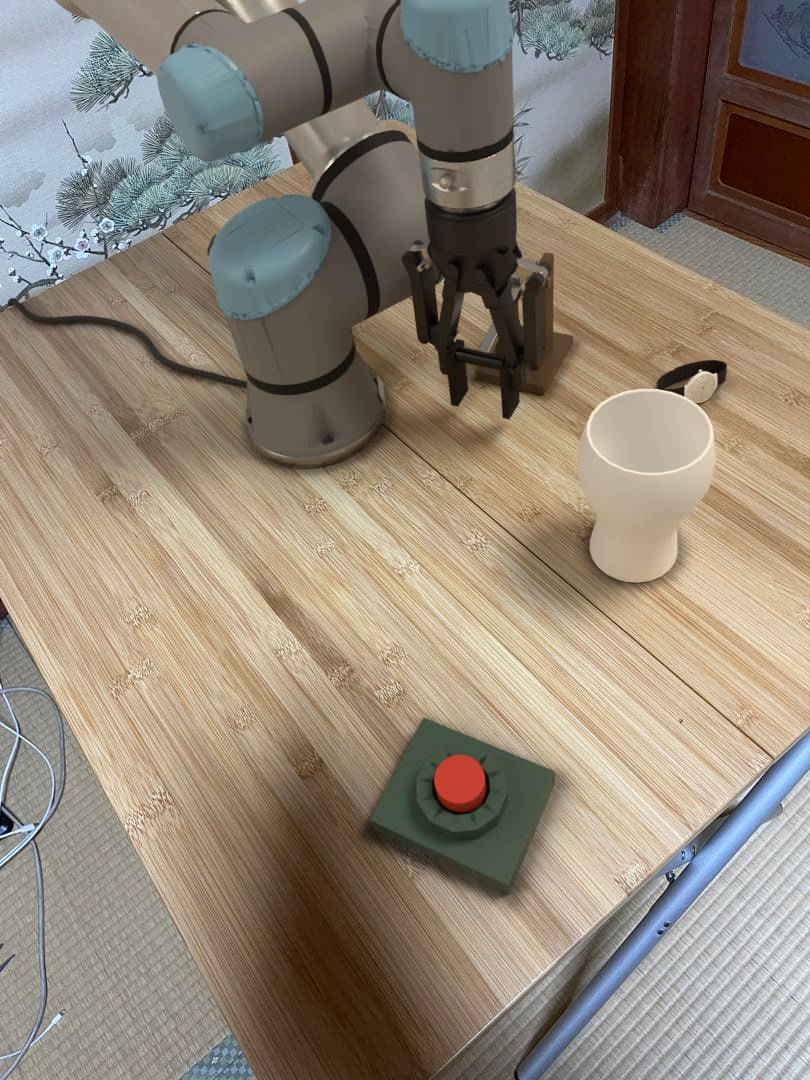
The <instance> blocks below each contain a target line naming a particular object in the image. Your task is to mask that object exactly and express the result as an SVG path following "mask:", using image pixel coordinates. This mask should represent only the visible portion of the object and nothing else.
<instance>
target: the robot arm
mask: <svg viewBox="0 0 810 1080" xmlns="http://www.w3.org/2000/svg"><path fill="white" fill-rule="evenodd" d="M54 1H55V3H57V4H58V5H59V6H60V7H61V8H62V9H64V10H65V11H67V12H68V13H70V14H72V15H74V16H76V17H79V18H83V19H87V20H92V21H93V22H95V23H96V24H97V25H98V26H99V27H100V28H102V30H103V31H105V33H107V34H108V35H109V36H110V37H111V38H112V39H114V41H116V42H117V43H118V44H119V45H121V47H123V48H124V49H125V50H126V51H127V52H128V53H129V54H130V55H132V56H133V57H134V58H135V59H136V60H137V61H138V62H140V64H142V65H143V66H144V67H145V68H146V69H147V70H149V72H150V73H152V74H153V75H154V76H155V77H156V82H157V87H158V92H159V96H160V99H161V103H162V105H163V107H164V110H165V112H166V114H167V117H168V120H169V121H170V123H171V125H172V128H173V129H174V131H175V132H176V134H177V136H178V137H180V139H181V140H182V142H183V146H185V148H186V150H188V152H189V153H190V154H191V155H193V156H194V158H196V159H197V160H200V161H203V162H215V161H218V160H221V159H224V158H226V157H230V156H231V155H235V154H238V153H239V154H241V153H247V152H249V151H251V150H253V149H254V148H256V147H257V146H258V145H260V144H263V143H264V142H267V141H269V140H270V139H273V138H275V137H277V136H280V135H281V134H282V135H283V137H284V138H285V139H286V141H287V143H288V145H289V146H290V147H291V149H292V150H293V152H294V153H295V155H296V156H297V158H298V159H299V161H300V163H301V164H302V166H303V167H304V169H305V170H306V172H307V173H308V175H309V176H310V177H311V179H312V184H311V190H310V194H309V196H307V195H303V194H298V193H297V194H296V193H289V194H287V193H286V194H283V195H282V196H281V197H280V198H276V197H275V196H270V197H266V198H263V199H260V200H258V201H255V202H253V203H252V204H249V205H248V206H246V207H244V208H242V209H241V210H240V211H238V212H236V213H235V214H234V215H233V216H231V217H230V218H229V219H228V220H227V221H226V222H225V223H224V224H223V225H222V227H221V228H220V229H219V230H218V232H217V233H216V234H217V235H216V234H215V235H216V237H215V239H214V244H213V245H212V247H211V249H210V253H209V256H208V268H209V271H210V275H211V279H212V283H213V287H214V294H215V298H216V302H217V305H218V307H219V308H220V309H221V311H222V313H223V315H224V319H225V321H226V324H227V327H228V328H229V332H230V335H231V338H232V340H233V342H234V343H233V344H234V345H235V348H236V351H237V354H238V357H239V358H240V362H241V364H242V365H241V366H242V367H243V370H244V373H245V376H246V380H242V379H237V378H234V377H229V376H227V375H222V374H219V373H215V372H211V371H207V370H202V369H198V368H194V367H190V366H186V365H183V364H180V363H178V362H175V361H173V360H171V359H169V358H167V357H165V356H164V355H163V354H162V353H161V352H159V350H158V349H157V347H156V346H155V344H154V343H153V341H152V340H151V338H149V336H148V335H147V334H146V333H145V332H143V331H142V330H141V329H139V328H137V327H135V326H133V325H131V324H129V323H126V322H123V321H120V320H116V319H112V318H106V317H103V316H102V317H100V316H94V315H67V316H41V315H37V314H34V313H33V312H31V311H30V310H28V309H27V308H26V307H25V306H23V304H22V303H21V302H20V301H19V300H18V299H16V298H14V297H11V298H9V299H8V300H7V306H8V307H13V306H14V307H15V308H16V309H17V310H18V311H19V312H20V313H21V314H22V315H23V316H24V317H26V318H27V319H29V320H30V321H33V322H37V323H41V324H66V323H93V324H101V325H107V326H110V327H111V326H112V327H114V328H115V327H116V328H119V329H122V330H123V331H127V332H129V333H130V334H133V335H134V336H136V337H138V338H139V339H140V340H142V342H143V343H144V344H145V346H146V347H147V349H148V350H149V352H150V353H151V355H152V356H153V357H154V358H155V359H156V360H157V361H158V362H159V363H160V364H162V365H164V366H166V367H167V368H170V369H172V370H173V371H176V372H180V373H183V374H186V375H191V376H195V377H200V378H202V379H203V378H204V379H208V380H211V381H214V382H218V383H222V384H226V385H229V386H234V387H236V388H240V389H245V390H246V397H245V398H246V400H245V405H246V407H245V423H246V427H247V431H248V434H249V437H250V439H251V441H252V444H253V445H254V447H255V449H256V450H257V451H258V452H259V454H261V456H263V457H265V458H266V459H268V460H269V461H271V462H273V463H275V464H278V465H282V466H285V467H291V468H301V469H309V468H318V467H319V468H320V467H325V466H329V465H331V464H335V463H338V462H341V461H343V460H346V459H348V458H349V457H352V456H353V455H355V454H357V453H358V452H360V451H361V450H363V449H364V448H365V447H366V446H367V445H369V444H370V443H371V442H372V441H373V440H374V439H375V437H377V435H378V433H379V432H380V431H381V429H382V427H383V424H384V422H385V418H386V412H387V408H386V405H387V403H386V396H385V389H384V388H385V387H384V382H383V380H382V379H381V378H380V376H379V374H378V373H376V375H375V374H374V372H372V371H371V369H369V368H368V365H367V363H366V361H365V360H364V358H363V356H362V355H361V353H360V352H359V350H358V349H357V346H356V341H355V337H354V334H353V327H355V326H357V325H359V324H361V323H362V322H364V321H366V320H368V319H370V318H372V317H374V316H377V315H378V314H380V313H382V312H384V311H386V310H388V309H389V308H391V307H393V306H395V305H397V304H400V303H401V302H403V301H405V300H407V299H409V298H412V306H413V314H414V321H415V330H416V337H417V341H418V342H419V343H420V344H422V345H428V344H430V345H432V346H433V347H434V349H435V351H436V352H437V358H438V364H439V371H440V373H441V375H442V376H443V375H444V376H447V383H448V391H449V399H450V405H451V406H452V407H459V405H460V404H461V402H462V401H463V400H464V398H465V396H466V395H467V394H468V392H469V380H468V370H467V369H468V368H467V363H463V362H458V361H456V360H455V354H456V350H457V348H458V347H465V340H463V339H459V338H456V337H457V336H458V334H459V332H460V330H458V328H459V323H460V318H461V314H462V308H463V304H464V298H465V294H468V293H469V294H470V293H472V294H475V295H476V296H479V297H480V298H481V301H482V303H483V306H484V308H485V309H486V310H489V311H488V312H489V314H490V317H491V320H492V322H493V323H494V326H495V329H496V332H497V335H498V338H499V341H500V344H501V347H502V350H503V353H504V356H505V360H504V362H503V364H502V365H501V367H500V382H501V385H500V398H501V415H502V417H501V418H502V419H505V420H510V419H511V418H512V416H513V415H514V413H515V411H516V410H517V408H518V406H519V404H520V393H521V392H522V391H523V390H522V388H523V386H524V385H525V383H526V381H527V366H528V367H530V368H534V367H536V366H537V364H538V362H539V361H540V359H541V357H542V356H543V354H544V352H545V351H546V294H545V285H546V282H547V280H548V277H549V275H550V273H551V270H552V267H551V265H550V264H549V263H548V262H546V261H542V262H540V263H539V265H536V264H534V263H532V262H530V261H528V260H526V259H527V258H525V259H523V258H524V257H523V253H522V250H521V248H520V247H519V245H518V242H517V233H518V232H517V231H518V221H517V219H518V218H517V191H516V188H515V186H516V180H517V175H516V154H515V152H516V151H515V135H514V133H515V132H514V81H513V80H514V79H513V78H514V77H513V74H514V73H513V72H514V71H513V69H514V68H513V45H514V40H515V39H514V38H515V36H514V33H515V32H514V30H513V23H512V22H511V21H512V20H511V9H510V0H304V1H302V2H299V0H54ZM380 91H386V92H388V93H390V94H392V95H393V96H395V97H397V98H399V99H401V100H403V101H406V102H410V104H411V106H412V115H413V120H414V128H415V136H416V144H417V148H416V147H415V146H414V144H413V142H412V141H411V139H410V138H409V136H408V135H407V134H406V132H405V131H403V130H402V129H400V128H398V127H391V126H382V125H381V122H380V121H379V120H378V119H377V117H376V116H375V114H374V112H373V111H372V109H371V108H370V106H369V105H368V103H367V102H366V101H365V99H364V98H365V97H368V96H370V95H372V94H375V93H377V92H380ZM514 272H515V273H516V274H517V275H518V276H519V278H520V289H521V290H522V291H524V293H523V296H522V298H521V307H522V323H521V319H520V315H519V316H518V313H517V310H516V307H515V303H514V300H513V297H512V293H511V291H512V283H511V280H510V277H511V276H512V275H513V273H514ZM443 280H444V281H443ZM442 282H443V285H442V291H441V298H442V302H441V307H440V313H439V310H438V300H437V292H436V286H437V285H439V284H440V283H442ZM521 325H523V329H522V326H521ZM455 338H456V340H455Z"/></svg>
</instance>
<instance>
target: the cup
mask: <svg viewBox="0 0 810 1080" xmlns="http://www.w3.org/2000/svg"><path fill="white" fill-rule="evenodd" d="M715 444H716V443H715V435H714V426H713V424H712V422H711V420H710V418H709V416H708V414H707V413H706V411H704V409H702V408H701V407H700V406H699V405H698V404H697V403H696V402H693V401H691V400H689V399H688V398H686V397H684V396H681V395H678V394H676V393H673V392H669V391H664V390H659V389H657V388H636V389H631V390H625V391H622V392H620V393H616V394H614V395H611V396H609V397H608V398H607V399H605V400H604V401H602V402H600V403H599V404H598V405H597V406H596V407H595V408H594V409H593V411H592V412H591V413H590V415H589V417H588V419H587V421H586V424H585V426H584V429H583V432H582V435H581V437H580V439H579V443H578V447H577V449H578V450H577V464H576V465H577V466H576V467H577V468H576V476H577V479H578V482H579V484H580V488H581V490H582V493H583V495H584V499H585V501H586V503H587V505H588V506H589V507H590V508H591V510H592V512H593V513H594V514H595V518H596V521H595V522H594V526H593V529H592V532H591V535H590V539H589V553H590V556H591V559H592V561H593V562H594V564H595V565H596V566H597V568H598V569H599V570H601V571H602V572H603V573H604V574H605V575H607V576H609V577H611V578H613V579H615V580H619V581H621V582H626V583H637V584H638V583H639V584H640V583H647V582H651V581H654V580H656V579H659V578H661V577H663V576H664V575H666V574H667V573H668V572H669V571H670V570H671V569H672V567H673V566H674V564H675V563H676V560H677V557H678V544H679V543H678V527H679V525H680V524H681V523H682V522H683V521H685V520H686V519H688V518H689V517H690V516H691V515H692V514H693V512H694V511H695V510H696V508H697V507H698V505H699V504H700V503H701V501H702V500H703V499H704V497H705V496H706V495H707V494H708V492H709V491H710V490H709V489H710V487H711V483H712V480H713V478H714V477H713V476H714V472H715V469H716V465H717V464H716V463H717V454H716V445H715Z"/></svg>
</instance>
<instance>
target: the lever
mask: <svg viewBox="0 0 810 1080" xmlns="http://www.w3.org/2000/svg"><path fill="white" fill-rule="evenodd" d="M522 258H523V259H526V260H528V261H530V262H532V263H534V264H536V265H537V264H538V260H536V259H530V258H524V257H522ZM510 280H511V283H512V291H511V293H512V297H513V300H514V303H515V307H516V305H517V303H518V304H519V301H520V299H521V297H523V293H524V291H522V290H521V289H520V278H519V276H518V275H517V274H516V273H515V272H514V273H513V275H512V276H511V277H510ZM498 340H499V338H498V335H497V332H496V329H495V326H494V323H493V321H492V322H491V324H490V326H489V327H488V329H487V332H486V333H485V335H484V337H483V339H482V341H481V343H480V345H479V347H478V349H474V348H470V347H465V346H464V347H458V348H457V350H456V354H455V360H456V361H458V362H463V363H466V365H467V364H468V365H472V366H477V367H479V366H481V367H485V368H489V369H494V370H498V371H500V367H501V365H502V364H503V362H504V360H505V356H501V355H497V354H492V352H493V350H494V348H495V346H496V344H497V342H498Z"/></svg>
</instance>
